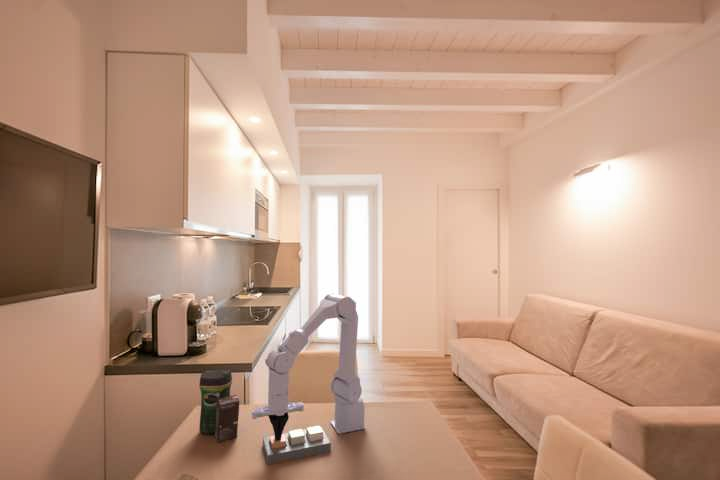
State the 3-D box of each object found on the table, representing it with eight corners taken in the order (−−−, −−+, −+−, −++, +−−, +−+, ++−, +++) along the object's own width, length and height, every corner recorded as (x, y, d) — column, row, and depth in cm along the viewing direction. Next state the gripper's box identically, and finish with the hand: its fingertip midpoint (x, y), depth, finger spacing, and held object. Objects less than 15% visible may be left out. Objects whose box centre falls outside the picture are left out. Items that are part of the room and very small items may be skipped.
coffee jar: (235, 423, 122) (235, 367, 123) (225, 435, 115) (225, 374, 115) (207, 423, 123) (207, 367, 124) (195, 435, 115) (195, 374, 116)
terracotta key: (283, 444, 110) (283, 434, 110) (285, 451, 106) (286, 440, 106) (269, 446, 108) (269, 436, 108) (271, 454, 104) (271, 443, 104)
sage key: (301, 438, 112) (301, 428, 112) (304, 445, 108) (304, 435, 108) (288, 441, 110) (288, 431, 110) (291, 448, 106) (291, 437, 106)
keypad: (321, 434, 117) (321, 426, 117) (330, 451, 108) (330, 442, 108) (262, 445, 110) (263, 437, 110) (267, 464, 101) (268, 455, 101)
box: (217, 443, 111) (219, 405, 110) (214, 435, 115) (216, 398, 114) (238, 437, 114) (240, 400, 113) (234, 430, 118) (236, 393, 117)
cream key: (319, 435, 114) (319, 425, 114) (322, 441, 110) (323, 431, 110) (306, 437, 112) (306, 427, 112) (309, 444, 109) (309, 434, 109)
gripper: (254, 401, 101) (253, 451, 100) (306, 393, 106) (305, 441, 106) (251, 391, 107) (250, 438, 107) (300, 384, 113) (300, 429, 113)
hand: (277, 439), depth 107 cm, fingers closed, pressing on terracotta key
